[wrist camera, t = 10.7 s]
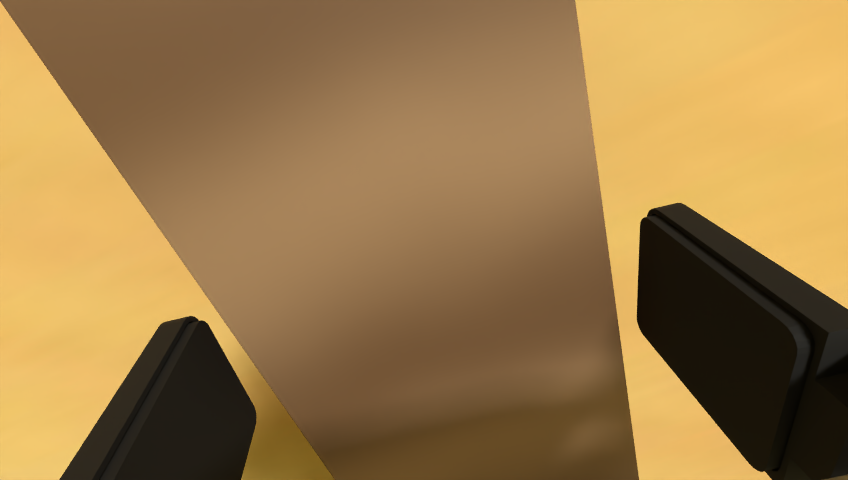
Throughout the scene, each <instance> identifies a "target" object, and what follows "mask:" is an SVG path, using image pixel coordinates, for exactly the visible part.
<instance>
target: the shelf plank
mask: <svg viewBox="0 0 848 480" xmlns="http://www.w3.org/2000/svg"><path fill="white" fill-rule="evenodd" d="M0 2H1V3H2V5H3V6H4V7H5V9H6V10H7V12H8V13H9V15H10V16H11V17H12V19H13V20H14V22H15V23H16V25H17V26H18V27H19V29H20V30H21V32H22V33H23V35H24V36H25V37H26V39H27V40H28V42H29V43H30V45H31V46H32V47H33V49H34V50H35V52H36V53H37V55H38V56H39V57H40V59H41V60H42V62H43V63H44V65H45V66H46V67H47V69H48V70H49V72H50V73H51V75H52V76H53V77H54V79H55V80H56V82H57V83H58V85H59V86H60V87H61V89H62V90H63V92H64V93H65V95H66V96H67V97H68V99H69V100H70V102H71V103H72V105H73V106H74V107H75V109H76V110H77V112H78V113H79V115H80V116H81V117H82V119H83V120H84V122H85V123H86V125H87V126H88V127H89V129H90V130H91V132H92V133H93V135H94V136H95V138H96V139H97V140H98V142H99V143H100V145H101V146H102V148H103V149H104V150H105V152H106V153H107V155H108V156H109V158H110V159H111V160H112V162H113V163H114V165H115V166H116V168H117V169H118V170H119V172H120V173H121V175H122V176H123V178H124V179H125V180H126V182H127V183H128V185H129V186H130V188H131V189H132V190H133V192H134V193H135V195H136V196H137V198H138V199H139V200H140V202H141V203H142V205H143V206H144V208H145V209H146V210H147V212H148V213H149V215H150V216H151V218H152V219H153V220H154V222H155V223H156V225H157V226H158V228H159V229H160V230H161V232H162V233H163V235H164V236H165V238H166V239H167V240H168V242H169V243H170V245H171V246H172V248H173V249H174V250H175V252H176V253H177V255H178V256H179V258H180V259H181V260H182V262H183V263H184V265H185V266H186V268H187V269H188V270H189V272H190V273H191V275H192V276H193V278H194V279H195V280H196V282H197V283H198V285H199V286H200V288H201V289H202V290H203V292H204V293H205V295H206V296H207V298H208V299H209V300H210V302H211V303H212V305H213V306H214V308H215V309H216V310H217V312H218V313H219V315H220V316H221V318H222V319H223V320H224V322H225V323H226V325H227V326H228V328H229V329H230V330H231V332H232V333H233V335H234V336H235V338H236V339H237V340H238V342H239V343H240V345H241V346H242V348H243V349H244V350H245V352H246V353H247V355H248V356H249V358H250V359H251V360H252V362H253V363H254V365H255V366H256V368H257V369H258V370H259V372H260V373H261V375H262V376H263V378H264V379H265V380H266V382H267V383H268V385H269V386H270V388H271V389H272V390H273V392H274V393H275V395H276V396H277V398H278V399H279V400H280V402H281V403H282V405H283V406H284V408H285V409H286V410H287V412H288V413H289V415H290V416H291V418H292V419H293V420H294V422H295V423H296V425H297V426H298V428H299V429H300V430H301V432H302V433H303V435H304V436H305V438H306V439H307V440H308V442H309V443H310V445H311V446H312V448H313V449H314V450H315V452H316V453H317V455H318V456H319V458H320V459H321V460H322V462H323V463H324V465H325V466H326V468H327V469H328V470H329V472H330V473H331V475H332V476H333V478H334V479H335V480H639V476H638V469H637V461H636V454H635V446H634V439H633V431H632V424H631V416H630V409H629V401H628V394H627V386H626V379H625V371H624V364H623V356H622V349H621V341H620V334H619V326H618V319H617V311H616V304H615V296H614V289H613V281H612V274H611V266H610V259H609V251H608V244H607V236H606V229H605V221H604V214H603V206H602V199H601V191H600V184H599V176H598V169H597V161H596V154H595V146H594V139H593V131H592V124H591V116H590V109H589V101H588V94H587V86H586V79H585V72H584V64H583V57H582V49H581V42H580V34H579V27H578V19H577V12H576V4H575V0H0Z"/></svg>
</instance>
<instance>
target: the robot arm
mask: <svg viewBox="0 0 848 480" xmlns="http://www.w3.org/2000/svg"><path fill="white" fill-rule="evenodd" d="M637 322H638V326H639V328H640V330H641V332H642V334H643V335H644V336H645V338H646V339H647V340H648V341H649V342H650V344H651V345H652V346H653V347H654V348H655V350H656V351H657V352H658V353H659V355H660V356H661V357H662V358H663V359H664V361H665V362H666V363H667V364H668V365H669V367H670V368H671V369H672V370H673V372H674V373H675V374H676V375H677V376H678V378H679V379H680V380H681V381H682V382H683V384H684V385H685V386H686V387H687V389H688V390H689V391H690V392H691V393H692V395H693V396H694V397H695V398H696V399H697V401H698V402H699V403H700V404H701V406H702V407H703V408H704V409H705V410H706V412H707V413H708V414H709V415H710V416H711V418H712V419H713V420H714V421H715V423H716V424H717V425H718V426H719V427H720V429H721V430H722V431H723V432H724V433H725V435H726V436H727V437H728V438H729V439H730V441H731V442H732V443H733V444H734V446H735V447H736V448H737V449H738V450H739V452H740V453H741V454H742V455H743V456H744V458H745V459H746V460H747V461H748V463H749V464H750V465H751V466H752V467H753V468H755V469H756V470H757V471H760V472H763V471H765V472H766V473H767V474H768V475H769V477H770V478H771V479H772V480H848V309H846V308H845V307H843V306H842V305H840V304H839V303H837V302H836V301H834V300H832V299H831V298H829V297H828V296H826V295H825V294H823V293H821V292H820V291H818V290H817V289H815V288H814V287H812V286H811V285H809V284H807V283H806V282H804V281H803V280H801V279H800V278H798V277H797V276H795V275H793V274H792V273H790V272H789V271H787V270H786V269H784V268H783V267H781V266H779V265H778V264H776V263H775V262H773V261H772V260H770V259H768V258H767V257H765V256H764V255H762V254H761V253H759V252H758V251H756V250H754V249H753V248H751V247H750V246H748V245H747V244H745V243H744V242H742V241H740V240H739V239H737V238H736V237H734V236H733V235H731V234H730V233H728V232H726V231H725V230H723V229H722V228H720V227H719V226H717V225H715V224H714V223H712V222H711V221H709V220H708V219H706V218H705V217H703V216H701V215H700V214H698V213H697V212H695V211H694V210H692V209H691V208H689V207H687V206H686V205H684V204H682V203H675V204H671V205H667V206H663V207H658V208H654V209H651V210H650V211H649V212H648V215H647V217H645V218H643V219H642V220H641V224H640V244H639V271H638V299H637ZM255 425H256V411H255V407H254V405H253V403H252V402H251V400H250V398H249V396H248V395H247V393H246V391H245V389H244V387H243V386H242V384H241V382H240V380H239V379H238V377H237V375H236V373H235V371H234V370H233V368H232V366H231V364H230V363H229V361H228V359H227V357H226V355H225V354H224V352H223V350H222V348H221V347H220V345H219V343H218V341H217V339H216V338H215V336H214V334H213V332H212V331H211V329H210V327H209V325H208V324H207V323H206V322H205V321H199V320H198V319H197V318H195V317H193V316H189V317H184V318H180V319H176V320H171V321H167V322H164V323H162V324H161V325H160V326H159V327H158V329H157V330H156V332H155V334H154V335H153V337H152V338H151V340H150V341H149V343H148V344H147V346H146V347H145V349H144V350H143V352H142V354H141V355H140V357H139V358H138V360H137V361H136V363H135V364H134V366H133V367H132V369H131V371H130V372H129V374H128V375H127V377H126V378H125V380H124V381H123V383H122V384H121V386H120V387H119V389H118V391H117V392H116V394H115V395H114V397H113V398H112V400H111V401H110V403H109V404H108V406H107V407H106V409H105V411H104V412H103V414H102V415H101V417H100V418H99V420H98V421H97V423H96V424H95V426H94V427H93V429H92V431H91V432H90V434H89V435H88V437H87V438H86V440H85V441H84V443H83V444H82V446H81V447H80V449H79V451H78V452H77V454H76V455H75V457H74V458H73V460H72V461H71V463H70V464H69V466H68V467H67V469H66V471H65V472H64V474H63V475H62V477H61V478H60V480H241V477H242V474H243V470H244V466H245V462H246V459H247V455H248V451H249V448H250V444H251V440H252V437H253V433H254V429H255Z"/></svg>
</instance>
